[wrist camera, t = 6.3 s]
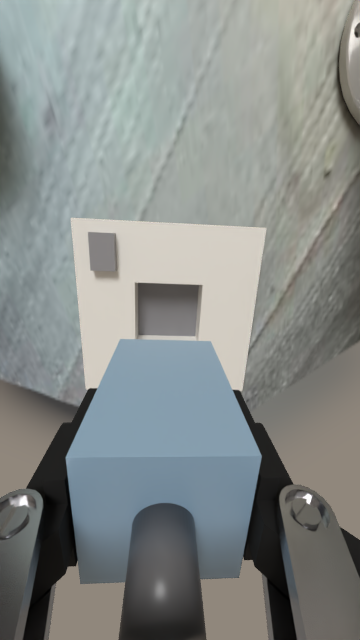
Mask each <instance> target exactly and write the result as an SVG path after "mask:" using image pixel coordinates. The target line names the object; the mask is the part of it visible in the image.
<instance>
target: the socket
mask: <svg viewBox="0 0 360 640" xmlns="http://www.w3.org/2000/svg"><path fill="white" fill-rule="evenodd" d="M71 227H72V238H73V249H74V260H75V272H76V283H77V294H78V306H79V317H80V328H81V339H82V351H83V362H84V373H85V385H86V389H89V388H98V386H99V384H100V382H101V380H102V377H103V375H104V373H105V371H106V369H107V367H108V364H109V362H110V360H111V358H112V356H113V354H114V351H115V349H116V347H117V345H118V343H119V341H120V339H142V340H184V341H211V343H212V345H213V347H214V349H215V352H216V354H217V356H218V358H219V361H220V363H221V365H222V367H223V370H224V372H225V374H226V377H227V379H228V381H229V383H230V386H231V388H232V390H239V391H242V389H243V382H244V376H245V369H246V362H247V356H248V349H249V342H250V335H251V329H252V322H253V315H254V308H255V302H256V295H257V288H258V282H259V275H260V268H261V261H262V255H263V248H264V241H265V234H266V228H257V227H238V226H219V225H199V224H180V223H161V222H141V221H122V220H103V219H83V218H71Z"/></svg>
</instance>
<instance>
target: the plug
mask: <svg viewBox="0 0 360 640" xmlns="http://www.w3.org/2000/svg"><path fill="white" fill-rule="evenodd" d="M261 458H262V456H261V453H260V451H259V449H258V446H257V444H256V442H255V440H254V437H253V435H252V433H251V431H250V428H249V426H248V424H247V422H246V419H245V417H244V415H243V413H242V410H241V408H240V406H239V404H238V401H237V399H236V397H235V395H234V392H233V390H232V388H231V386H230V383H229V381H228V379H227V377H226V374H225V372H224V370H223V367H222V365H221V363H220V361H219V358H218V356H217V354H216V352H215V349H214V347H213V345H212V343H211V341H184V340H142V339H120V341H119V343H118V345H117V347H116V349H115V351H114V354H113V356H112V358H111V360H110V362H109V364H108V367H107V369H106V371H105V373H104V375H103V377H102V380H101V382H100V384H99V386H98V388H97V391H96V393H95V395H94V397H93V399H92V401H91V404H90V406H89V408H88V410H87V412H86V414H85V417H84V419H83V421H82V423H81V425H80V427H79V430H78V432H77V434H76V436H75V438H74V440H73V443H72V445H71V447H70V449H69V451H68V453H67V456H66V466H67V474H68V483H69V491H70V499H71V508H72V516H73V525H74V533H75V542H76V550H77V559H78V566H79V575H80V584H90V583H91V584H92V583H115V582H116V583H118V582H125V590H124V598H123V607H122V615H121V624H120V632H119V640H206V632H205V623H204V622H205V621H204V612H203V602H202V592H201V583H200V579H218V578H239V575H240V569H241V564H242V559H243V553H244V548H245V543H246V538H247V532H248V527H249V522H250V516H251V511H252V506H253V500H254V495H255V490H256V484H257V479H258V474H259V468H260V463H261Z"/></svg>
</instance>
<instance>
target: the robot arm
mask: <svg viewBox="0 0 360 640" xmlns="http://www.w3.org/2000/svg"><path fill="white" fill-rule="evenodd" d="M339 72H340V83H341V88H342V92H343V97H344V100H345V102H346V104H347V106H348V109H349V111H350V113H351V114H352V116H353V117H354V118H355V120H356V121H357V123H358V124H359V125H360V0H354V2H353V4H352V7H351V10H350V12H349V15H348V18H347V20H346V23H345V27H344V31H343V36H342V40H341V46H340V57H339ZM96 391H97V388H89V389H88V391H87V393H86V395H85V397H84V399H83V401H82V403H81V405H80V407H79V409H78V411H77V413H76V415H75V417H74V419H73V421H72V423H63V424H62V425H61V426H60V428H59V430H58V432H57V433H56V435H55V437H54V439H53V441H52V442H51V445H50V446H49V448H48V450H47V451H46V454H45V455H44V457H43V459H42V461H41V462H40V464H39V466H38V468H37V470H36V472H35V473H34V475H33V477H32V479H31V480H30V482H29V484H28V486H27V488H26V489H19V490H16V491H13V492H10V493H8V494H6V495H5V496H3V497H1V498H0V640H49V633H50V625H51V618H52V610H53V603H54V595H55V588H56V587H55V586H56V582H57V581H58V580H59V579H60V578H61V577H62V576H63V575H65V573H66V570H67V567H68V566H76V564H77V560H78V559H77V550H76V542H75V533H74V525H73V516H72V508H71V499H70V491H69V483H68V474H67V466H66V456H67V453H68V451H69V449H70V447H71V445H72V443H73V440H74V438H75V436H76V434H77V432H78V430H79V427H80V425H81V423H82V421H83V419H84V417H85V414H86V412H87V410H88V408H89V406H90V404H91V401H92V399H93V397H94V395H95V393H96ZM233 392H234V395H235V397H236V399H237V401H238V404H239V406H240V408H241V410H242V413H243V415H244V417H245V419H246V422H247V424H248V426H249V428H250V431H251V433H252V435H253V437H254V440H255V442H256V444H257V446H258V449H259V451H260V453H261V456H262V458H261V463H260V468H259V474H258V479H257V484H256V490H255V495H254V500H253V506H252V511H251V516H250V522H249V527H248V532H247V538H246V543H245V548H244V553H243V557H244V560H253V562H254V566H255V567H256V568H257V569H258V570H259V571H260V572H261V573H262V580H263V589H264V600H265V608H266V619H267V629H268V638H269V640H360V540H359V539H357V538H356V537H354V536H353V535H351V534H350V533H348V532H347V531H345V530H344V529H342V528H340V527H339V524H338V522H337V519H336V516H335V514H334V512H333V511H332V509H331V507H330V505H329V504H328V503H327V502H326V501H325V499H324V498H323V497H321V496H320V495H319V494H317V493H316V492H315V491H313V490H311V489H310V488H308V487H305V486H302V485H293V483H292V481H291V479H290V477H289V475H288V473H287V471H286V469H285V467H284V465H283V463H282V461H281V459H280V457H279V455H278V453H277V452H276V449H275V447H274V445H273V444H272V442H271V440H270V438H269V436H268V434H267V432H266V430H265V428H264V426H263V425H262V424H261V423H255V422H254V420H253V418H252V416H251V414H250V411H249V409H248V407H247V405H246V403H245V401H244V399H243V397H242V395H241V393H240V391H239V390H233Z"/></svg>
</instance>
